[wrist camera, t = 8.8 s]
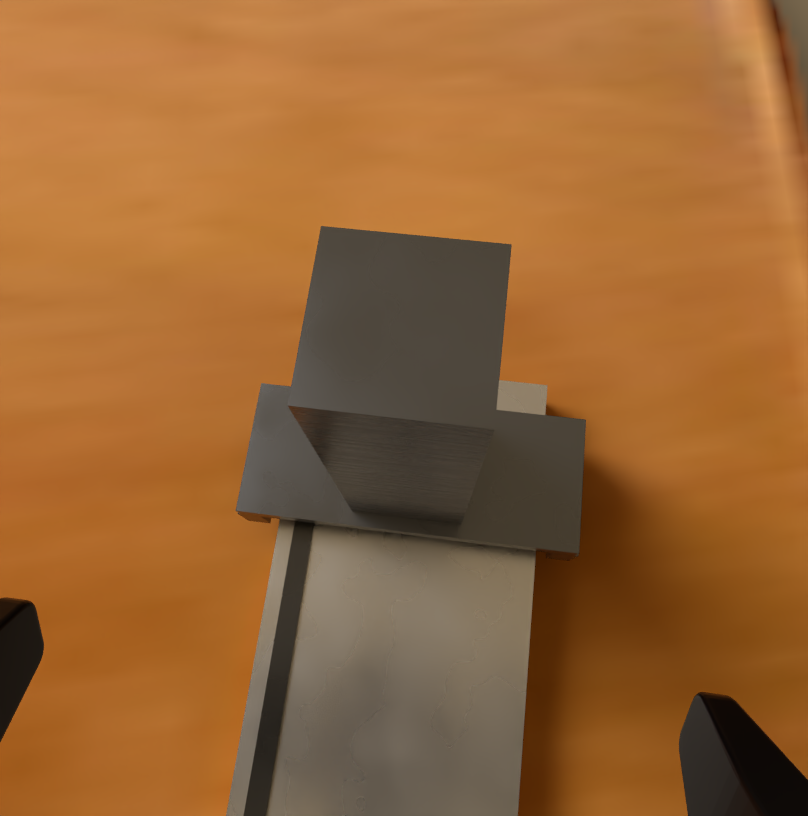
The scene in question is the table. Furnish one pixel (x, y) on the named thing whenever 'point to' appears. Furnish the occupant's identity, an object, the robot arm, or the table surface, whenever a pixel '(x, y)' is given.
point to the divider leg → (411, 406)
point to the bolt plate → (389, 672)
